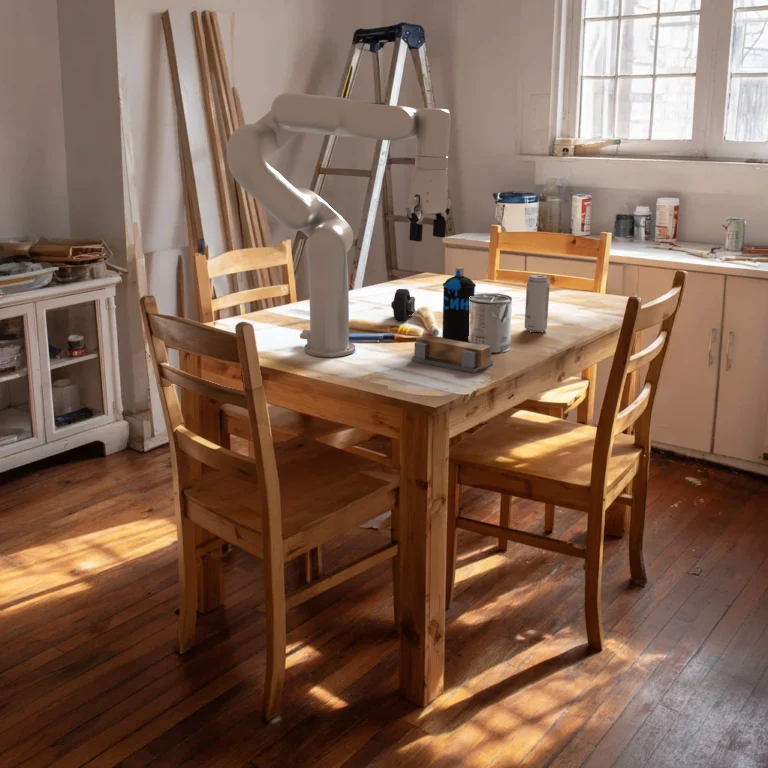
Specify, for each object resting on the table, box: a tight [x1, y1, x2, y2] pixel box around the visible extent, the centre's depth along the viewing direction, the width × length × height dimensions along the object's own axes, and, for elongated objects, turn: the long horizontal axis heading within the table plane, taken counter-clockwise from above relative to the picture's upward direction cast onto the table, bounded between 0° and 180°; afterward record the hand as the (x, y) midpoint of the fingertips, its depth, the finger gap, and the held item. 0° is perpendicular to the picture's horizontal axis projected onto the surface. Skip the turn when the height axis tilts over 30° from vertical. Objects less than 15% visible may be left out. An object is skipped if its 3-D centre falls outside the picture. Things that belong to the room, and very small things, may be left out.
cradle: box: [411, 335, 494, 374], centre depth 213 cm, size 17×9×4 cm, turn 55°
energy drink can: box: [524, 273, 551, 332], centre depth 241 cm, size 6×6×15 cm
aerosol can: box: [441, 266, 477, 343], centre depth 225 cm, size 8×8×20 cm
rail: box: [415, 334, 491, 367], centre depth 213 cm, size 18×4×4 cm, turn 54°
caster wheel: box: [391, 288, 416, 322], centre depth 255 cm, size 6×10×15 cm
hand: (427, 238), depth 212 cm, fingers open, 9 cm apart
